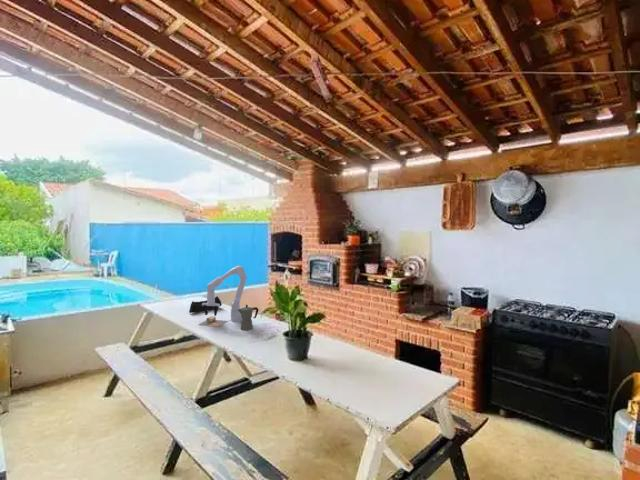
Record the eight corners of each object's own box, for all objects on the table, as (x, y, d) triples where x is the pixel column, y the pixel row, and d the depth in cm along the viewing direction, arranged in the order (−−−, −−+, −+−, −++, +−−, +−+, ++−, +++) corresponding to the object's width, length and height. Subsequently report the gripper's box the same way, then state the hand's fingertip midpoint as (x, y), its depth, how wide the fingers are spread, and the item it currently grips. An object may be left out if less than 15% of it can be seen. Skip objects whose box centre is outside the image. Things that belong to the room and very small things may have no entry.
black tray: (188, 304, 305) (217, 289, 326) (186, 303, 307) (215, 288, 328) (193, 322, 310) (222, 306, 331) (191, 321, 312) (220, 305, 333)
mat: (228, 321, 288) (228, 320, 288) (219, 327, 272) (219, 326, 272) (207, 319, 291) (207, 319, 291) (197, 325, 276) (197, 325, 276)
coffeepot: (238, 331, 264) (238, 306, 263) (236, 327, 272) (236, 304, 271) (259, 329, 269) (259, 305, 268) (257, 325, 278) (257, 302, 277)
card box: (215, 320, 290) (215, 316, 289) (211, 322, 283) (211, 318, 283) (210, 319, 290) (210, 316, 290) (206, 322, 284) (206, 318, 283)
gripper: (221, 297, 288) (221, 314, 289) (205, 296, 291) (205, 313, 292) (217, 299, 281) (217, 316, 282) (200, 298, 284) (200, 315, 285)
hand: (210, 315), depth 286 cm, fingers open, 7 cm apart
